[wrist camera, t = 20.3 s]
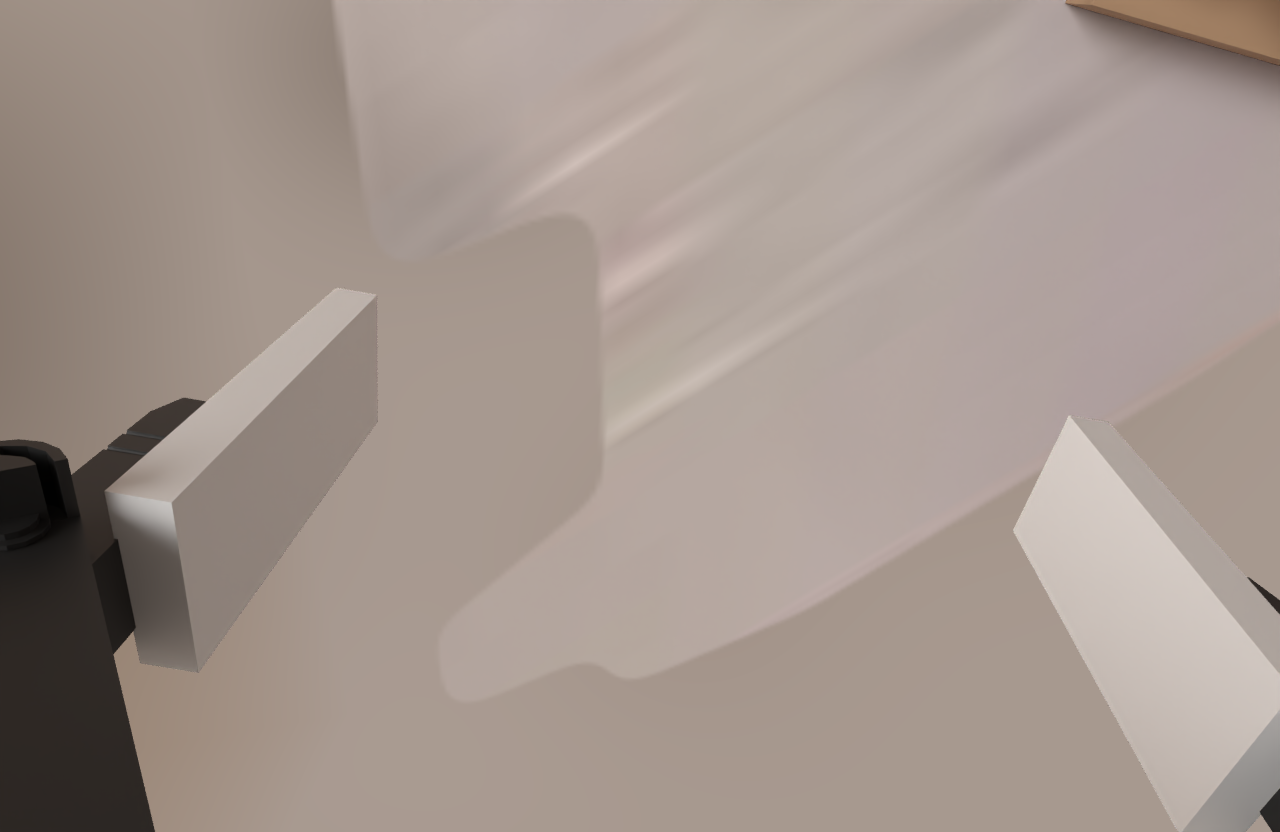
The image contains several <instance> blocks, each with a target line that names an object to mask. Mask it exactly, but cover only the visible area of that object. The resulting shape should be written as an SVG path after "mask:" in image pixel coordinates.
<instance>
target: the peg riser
mask: <svg viewBox="0 0 1280 832" xmlns="http://www.w3.org/2000/svg"><path fill="white" fill-rule="evenodd" d="M1066 4H1070V5H1073V6H1077V7H1080V8H1084V9H1087V10H1090V11H1094V12H1097V13H1101V14H1104V15H1108V16H1111V17H1115V18H1118V19H1121V20H1125V21H1128V22H1132V23H1135V24H1139V25H1142V26H1145V27H1149V28H1152V29H1156V30H1159V31H1163V32H1166V33H1169V34H1173V35H1176V36H1180V37H1183V38H1187V39H1190V40H1193V41H1197V42H1200V43H1204V44H1207V45H1211V46H1214V47H1217V48H1221V49H1224V50H1228V51H1231V52H1235V53H1238V54H1241V55H1245V56H1248V57H1252V58H1255V59H1259V60H1262V61H1265V62H1269V63H1272V64H1276V65H1279V66H1280V0H1066Z"/></svg>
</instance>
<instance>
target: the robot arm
mask: <svg viewBox="0 0 1280 832" xmlns="http://www.w3.org/2000/svg"><path fill="white" fill-rule="evenodd" d="M377 401H378V400H377V295H375V294H369V293H364V292H358V291H352V290H346V289H340V288H335V289H334V290H333V291H332V292H331V293H330V294H328V295H327V296H326V297H325V298H324V299H323V300H322V301H320V302H319V303H318V304H317V305H316V306H315V307H314V308H312V309H311V310H310V311H309V312H308V313H307V314H306V315H305V316H303V317H302V318H301V319H300V320H299V321H298V322H296V323H295V324H294V325H293V326H292V327H291V328H290V329H289V330H287V331H286V332H285V333H284V334H283V335H282V336H281V337H279V338H278V339H277V340H276V341H275V342H274V343H273V344H271V345H270V346H269V347H268V348H267V349H266V350H265V351H263V352H262V353H261V354H260V355H259V356H258V357H257V358H255V359H254V360H253V361H252V362H251V363H250V364H249V365H247V366H246V367H245V368H244V369H243V370H242V371H241V372H240V373H238V374H237V375H236V376H235V377H234V378H233V379H232V380H230V381H229V382H228V383H227V384H226V385H225V386H224V387H223V388H221V389H220V390H219V391H218V392H217V393H216V394H214V395H213V396H212V397H211V398H210V399H209V400H208V401H200V400H193V399H188V398H182V399H179V400H177V401H174V402H172V403H170V404H167V405H165V406H162V407H160V408H158V409H155V410H153V411H150V412H149V413H148V414H147V415H146V416H144V417H143V418H142V419H140V420H139V421H138V422H137V423H135V424H134V425H133V426H132V427H130V428H129V429H128V430H127V434H122V435H121V436H119V437H118V438H117V439H116V440H114V441H113V442H112V443H111V444H109V445H108V449H107V450H102V451H101V452H99V453H98V454H97V455H96V456H95V457H93V458H92V459H91V460H90V461H88V462H87V463H86V464H85V465H83V466H82V467H81V468H80V469H78V470H77V471H76V472H75V473H73V474H72V475H71V472H70V468H69V463H68V459H67V458H66V456H65V455H64V454H63V452H62V451H61V450H60V449H59V448H57V447H54V446H52V445H49V444H47V443H44V442H38V441H28V440H7V441H0V832H155V830H154V826H153V821H152V817H151V813H150V809H149V804H148V800H147V796H146V792H145V787H144V783H143V779H142V775H141V770H140V766H139V762H138V758H137V754H136V749H135V745H134V741H133V736H132V732H131V728H130V724H129V719H128V716H127V712H126V707H125V703H124V698H123V694H122V690H121V685H120V681H119V677H118V673H117V668H116V664H115V660H114V656H113V654H114V653H115V652H116V650H117V649H118V648H119V647H120V646H121V645H122V643H123V642H124V641H125V640H126V639H127V638H128V636H129V635H130V634H131V633H132V632H133V631H134V636H135V640H136V646H137V651H138V655H139V660H140V663H142V664H148V665H155V666H161V667H167V668H173V669H179V670H185V671H191V672H197V673H199V671H200V670H201V669H202V667H203V666H204V665H205V663H206V662H207V660H208V659H209V658H210V656H211V655H212V653H213V652H214V651H215V649H216V648H217V646H218V645H219V644H220V642H221V641H222V639H223V638H224V636H225V635H226V634H227V632H228V631H229V629H230V628H231V627H232V625H233V624H234V622H235V621H236V620H237V618H238V617H239V615H240V614H241V613H242V611H243V610H244V608H245V607H246V606H247V604H248V603H249V601H250V600H251V599H252V597H253V596H254V594H255V593H256V592H257V590H258V589H259V587H260V586H261V585H262V583H263V582H264V580H265V579H266V577H267V576H268V575H269V573H270V572H271V571H272V569H273V568H274V566H275V565H276V564H277V562H278V561H279V559H280V558H281V557H282V555H283V554H284V552H285V551H286V549H287V548H288V547H289V545H290V544H291V542H292V541H293V540H294V538H295V537H296V536H297V534H298V533H299V531H300V530H301V528H302V527H303V526H304V524H305V523H306V522H307V520H308V519H309V517H310V516H311V515H312V513H313V512H314V510H315V509H316V508H317V506H318V505H319V503H320V502H321V501H322V499H323V498H324V496H325V495H326V494H327V492H328V491H329V489H330V488H331V487H332V485H333V484H334V482H335V481H336V479H337V478H338V477H339V475H340V474H341V473H342V471H343V470H344V468H345V467H346V466H347V464H348V463H349V461H350V460H351V458H352V457H353V456H354V454H355V453H356V451H357V450H358V449H359V447H360V446H361V444H362V443H363V442H364V440H365V439H366V437H367V436H368V435H369V433H370V432H371V430H372V429H373V427H374V426H375V425H376V423H377V422H378V416H377V413H378V411H377V409H378V406H377V403H378V402H377ZM1013 532H1014V533H1015V535H1016V537H1017V539H1018V541H1019V543H1020V544H1021V546H1022V548H1023V550H1024V552H1025V554H1026V555H1027V557H1028V559H1029V561H1030V563H1031V564H1032V566H1033V568H1034V570H1035V572H1036V573H1037V575H1038V577H1039V579H1040V581H1041V583H1042V584H1043V586H1044V588H1045V590H1046V592H1047V594H1048V596H1049V597H1050V599H1051V601H1052V603H1053V605H1054V607H1055V608H1056V610H1057V612H1058V614H1059V616H1060V617H1061V619H1062V621H1063V623H1064V625H1065V627H1066V628H1067V630H1068V632H1069V634H1070V636H1071V637H1072V639H1073V641H1074V643H1075V645H1076V647H1077V649H1078V650H1079V652H1080V654H1081V656H1082V658H1083V659H1084V661H1085V663H1086V665H1087V667H1088V669H1089V670H1090V672H1091V674H1092V676H1093V678H1094V680H1095V681H1096V683H1097V685H1098V687H1099V689H1100V691H1101V692H1102V694H1103V696H1104V698H1105V700H1106V701H1107V703H1108V705H1109V707H1110V709H1111V711H1112V713H1113V714H1114V716H1115V718H1116V720H1117V722H1118V724H1119V725H1120V727H1121V729H1122V731H1123V733H1124V734H1125V736H1126V738H1127V740H1128V742H1129V743H1130V745H1131V747H1132V749H1133V751H1134V753H1135V755H1136V756H1137V758H1138V760H1139V762H1140V764H1141V766H1142V767H1143V769H1144V771H1145V773H1146V775H1147V776H1148V778H1149V780H1150V782H1151V784H1152V786H1153V787H1154V789H1155V791H1156V793H1157V795H1158V797H1159V798H1160V800H1161V802H1162V803H1163V806H1164V807H1165V809H1166V811H1167V813H1168V815H1169V817H1170V819H1171V820H1172V822H1173V824H1174V826H1175V828H1176V830H1177V831H1178V832H1246V831H1247V830H1248V829H1249V828H1250V826H1251V825H1252V824H1253V823H1254V822H1255V821H1256V819H1257V818H1258V817H1259V816H1260V815H1262V816H1263V818H1264V820H1265V821H1266V822H1267V824H1268V826H1269V827H1270V828H1271V830H1272V832H1280V600H1278V599H1277V598H1276V597H1275V596H1273V595H1272V594H1270V593H1269V592H1268V591H1266V590H1265V589H1264V588H1262V587H1261V586H1260V585H1258V584H1257V583H1256V582H1254V581H1253V580H1252V579H1250V578H1248V577H1246V576H1245V575H1244V574H1243V573H1242V572H1241V570H1240V569H1239V568H1238V567H1237V566H1236V565H1235V564H1234V563H1233V561H1232V560H1231V559H1230V558H1229V557H1228V556H1227V555H1226V554H1225V553H1224V551H1223V550H1222V549H1221V548H1220V547H1219V546H1218V545H1217V543H1216V542H1215V541H1214V540H1213V539H1212V538H1211V537H1210V536H1209V534H1208V533H1207V532H1206V531H1205V530H1204V529H1203V528H1202V526H1201V525H1200V524H1199V523H1198V522H1197V521H1196V520H1195V519H1194V518H1193V516H1192V515H1191V514H1190V513H1189V512H1188V511H1187V510H1186V508H1185V507H1184V506H1183V505H1182V504H1181V503H1180V502H1179V501H1178V500H1177V498H1176V497H1175V496H1174V495H1173V494H1172V493H1171V492H1170V490H1169V489H1168V488H1167V487H1166V486H1165V485H1164V484H1163V483H1162V481H1161V480H1160V479H1159V478H1158V477H1157V476H1156V475H1155V474H1154V472H1153V471H1152V470H1151V469H1150V468H1149V467H1148V466H1147V464H1146V463H1145V462H1144V461H1143V460H1142V459H1141V458H1140V457H1139V455H1138V454H1137V453H1136V452H1135V451H1134V450H1133V449H1132V448H1131V446H1130V445H1129V444H1128V443H1127V442H1126V441H1125V440H1124V439H1123V437H1122V436H1121V435H1120V434H1119V433H1118V432H1117V431H1116V430H1115V428H1114V427H1113V426H1112V425H1111V424H1110V423H1109V422H1106V421H1100V420H1094V419H1088V418H1083V417H1077V416H1071V415H1069V416H1068V419H1067V421H1066V423H1065V425H1064V427H1063V429H1062V431H1061V433H1060V435H1059V437H1058V439H1057V441H1056V443H1055V445H1054V447H1053V449H1052V451H1051V454H1050V456H1049V458H1048V460H1047V462H1046V464H1045V466H1044V468H1043V470H1042V472H1041V474H1040V476H1039V478H1038V480H1037V482H1036V485H1035V487H1034V489H1033V491H1032V493H1031V495H1030V497H1029V499H1028V501H1027V503H1026V505H1025V508H1024V509H1023V511H1022V514H1021V515H1020V517H1019V519H1018V521H1017V524H1016V526H1015V528H1014V530H1013Z"/></svg>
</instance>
